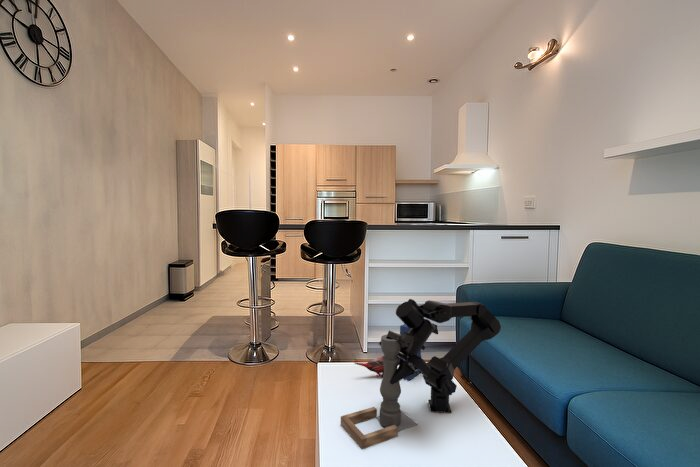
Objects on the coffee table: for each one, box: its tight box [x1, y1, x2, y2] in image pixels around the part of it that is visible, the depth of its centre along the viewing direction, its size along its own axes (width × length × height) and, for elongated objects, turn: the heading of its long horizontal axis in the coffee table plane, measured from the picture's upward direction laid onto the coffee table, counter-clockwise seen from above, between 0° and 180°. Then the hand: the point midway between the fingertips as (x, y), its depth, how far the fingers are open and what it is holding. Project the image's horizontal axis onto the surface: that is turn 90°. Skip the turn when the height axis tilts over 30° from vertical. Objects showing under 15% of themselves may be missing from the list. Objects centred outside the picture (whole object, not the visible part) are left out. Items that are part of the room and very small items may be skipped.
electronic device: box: [398, 323, 422, 381], centre depth 136 cm, size 10×5×20 cm, turn 141°
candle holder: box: [378, 334, 402, 428], centre depth 104 cm, size 6×6×25 cm
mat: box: [375, 410, 418, 432], centre depth 106 cm, size 9×8×1 cm
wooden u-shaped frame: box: [340, 406, 399, 449], centre depth 101 cm, size 12×12×2 cm
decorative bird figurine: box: [354, 355, 384, 377], centre depth 134 cm, size 3×18×10 cm, turn 103°
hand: (386, 380), depth 103 cm, fingers closed on candle holder, 4 cm apart
